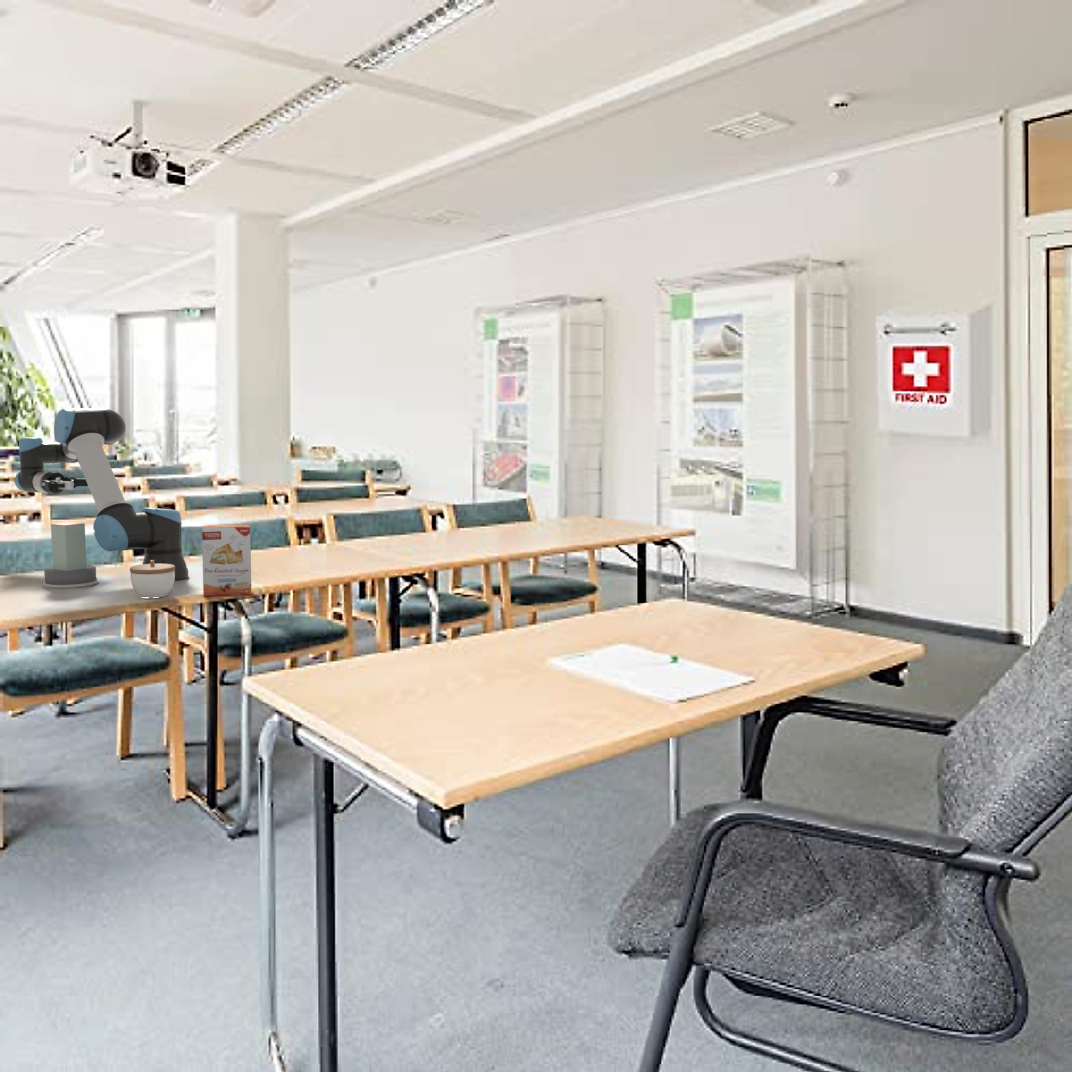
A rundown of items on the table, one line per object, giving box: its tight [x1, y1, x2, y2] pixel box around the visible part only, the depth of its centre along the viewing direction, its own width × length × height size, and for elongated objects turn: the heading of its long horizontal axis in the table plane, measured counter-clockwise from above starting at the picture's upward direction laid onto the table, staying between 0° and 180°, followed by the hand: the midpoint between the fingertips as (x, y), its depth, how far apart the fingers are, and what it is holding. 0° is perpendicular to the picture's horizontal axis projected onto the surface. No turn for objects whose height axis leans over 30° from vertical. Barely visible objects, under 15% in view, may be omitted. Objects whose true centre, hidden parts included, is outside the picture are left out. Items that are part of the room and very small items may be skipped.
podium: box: [42, 565, 99, 589], centre depth 332 cm, size 16×16×5 cm
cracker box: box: [201, 524, 252, 597], centre depth 315 cm, size 14×6×21 cm, turn 105°
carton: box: [50, 521, 87, 571], centre depth 330 cm, size 7×7×14 cm
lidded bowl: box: [129, 560, 176, 598], centre depth 310 cm, size 13×13×11 cm
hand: (89, 484), depth 358 cm, fingers open, 13 cm apart
